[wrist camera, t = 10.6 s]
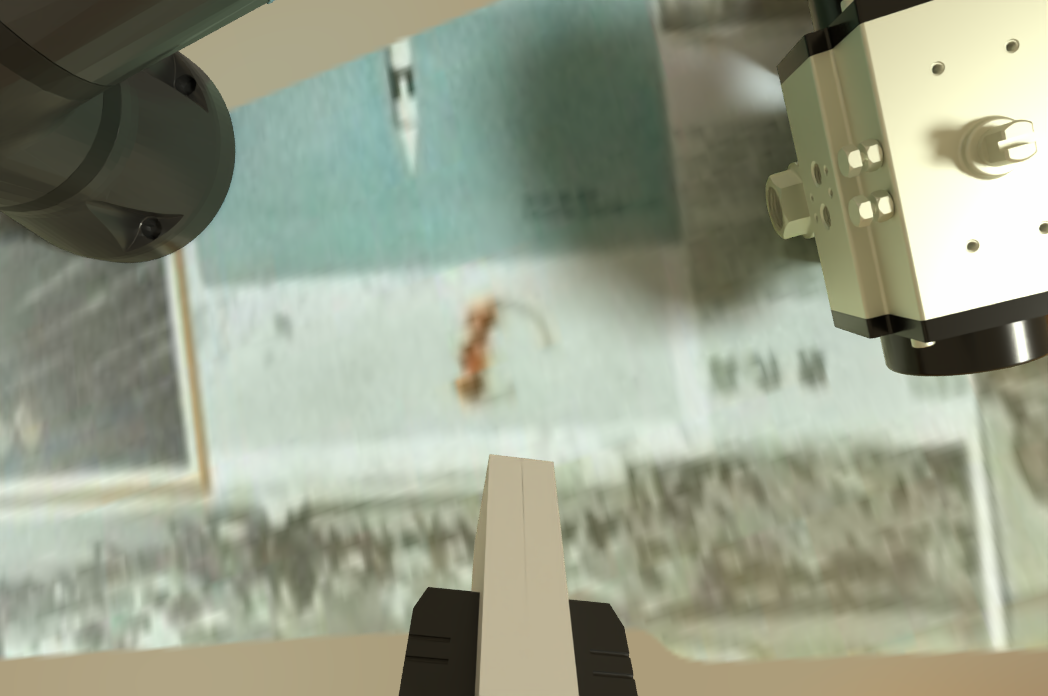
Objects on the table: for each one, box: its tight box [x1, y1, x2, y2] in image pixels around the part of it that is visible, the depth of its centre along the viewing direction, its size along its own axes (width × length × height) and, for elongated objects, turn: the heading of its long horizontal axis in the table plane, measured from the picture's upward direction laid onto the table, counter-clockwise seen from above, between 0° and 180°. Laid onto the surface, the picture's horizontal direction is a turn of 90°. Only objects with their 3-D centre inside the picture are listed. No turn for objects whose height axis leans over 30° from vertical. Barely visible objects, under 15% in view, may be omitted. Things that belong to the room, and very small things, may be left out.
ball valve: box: [765, 0, 1048, 376], centre depth 31 cm, size 18×8×18 cm, turn 15°
